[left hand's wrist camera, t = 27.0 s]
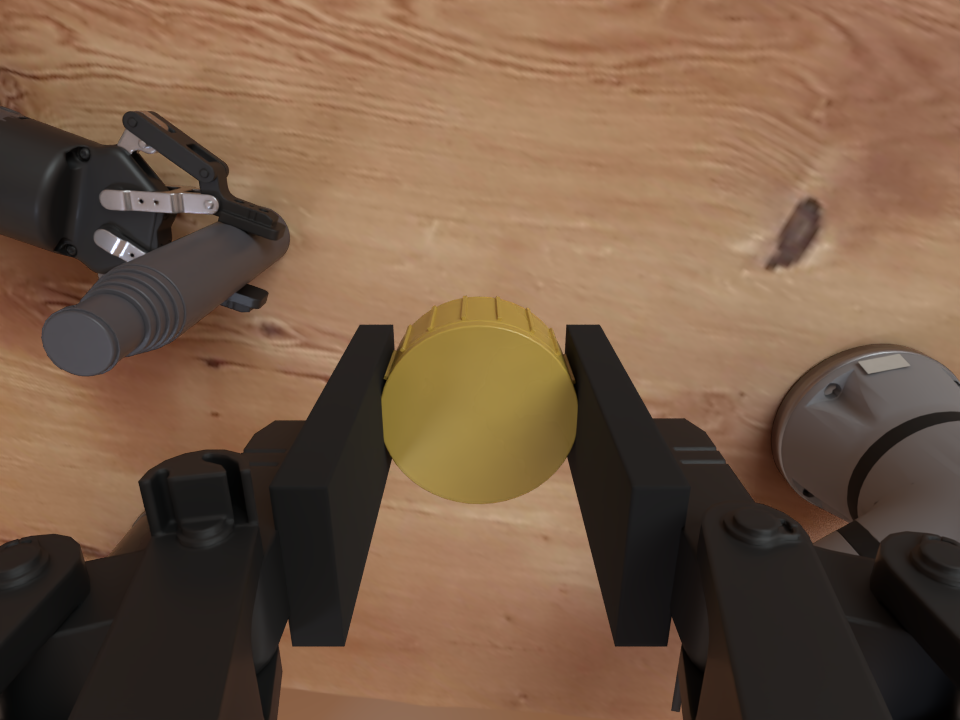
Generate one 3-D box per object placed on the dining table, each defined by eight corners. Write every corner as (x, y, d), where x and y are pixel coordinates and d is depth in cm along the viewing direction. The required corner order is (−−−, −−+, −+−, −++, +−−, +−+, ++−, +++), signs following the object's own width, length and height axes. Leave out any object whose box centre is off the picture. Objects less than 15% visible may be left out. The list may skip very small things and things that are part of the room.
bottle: (259, 194, 46) (64, 272, 24) (301, 238, 47) (152, 350, 25) (221, 231, 47) (1, 339, 25) (263, 273, 48) (89, 411, 26)
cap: (352, 367, 14) (333, 406, 12) (494, 255, 13) (497, 279, 11) (465, 486, 15) (463, 538, 14) (603, 392, 14) (621, 433, 13)
